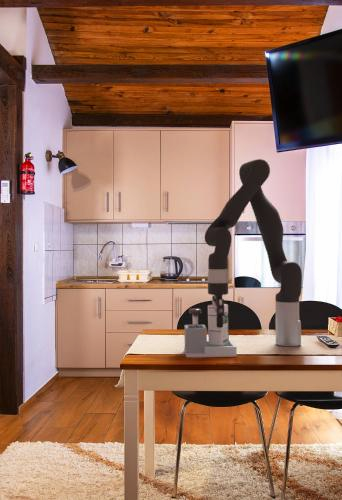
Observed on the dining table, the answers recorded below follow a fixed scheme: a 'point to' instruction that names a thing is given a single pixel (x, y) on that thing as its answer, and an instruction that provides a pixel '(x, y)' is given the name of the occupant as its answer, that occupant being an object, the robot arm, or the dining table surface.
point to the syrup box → (214, 333)
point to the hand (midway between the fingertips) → (218, 325)
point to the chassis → (205, 344)
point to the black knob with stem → (195, 316)
